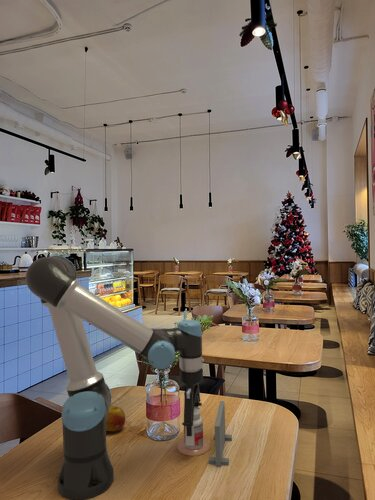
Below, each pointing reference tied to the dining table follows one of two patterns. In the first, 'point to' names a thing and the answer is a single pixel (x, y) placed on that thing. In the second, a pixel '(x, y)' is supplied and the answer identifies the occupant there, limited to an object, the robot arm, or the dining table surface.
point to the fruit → (115, 419)
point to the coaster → (190, 452)
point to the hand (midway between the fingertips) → (193, 435)
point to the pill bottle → (196, 431)
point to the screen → (220, 438)
